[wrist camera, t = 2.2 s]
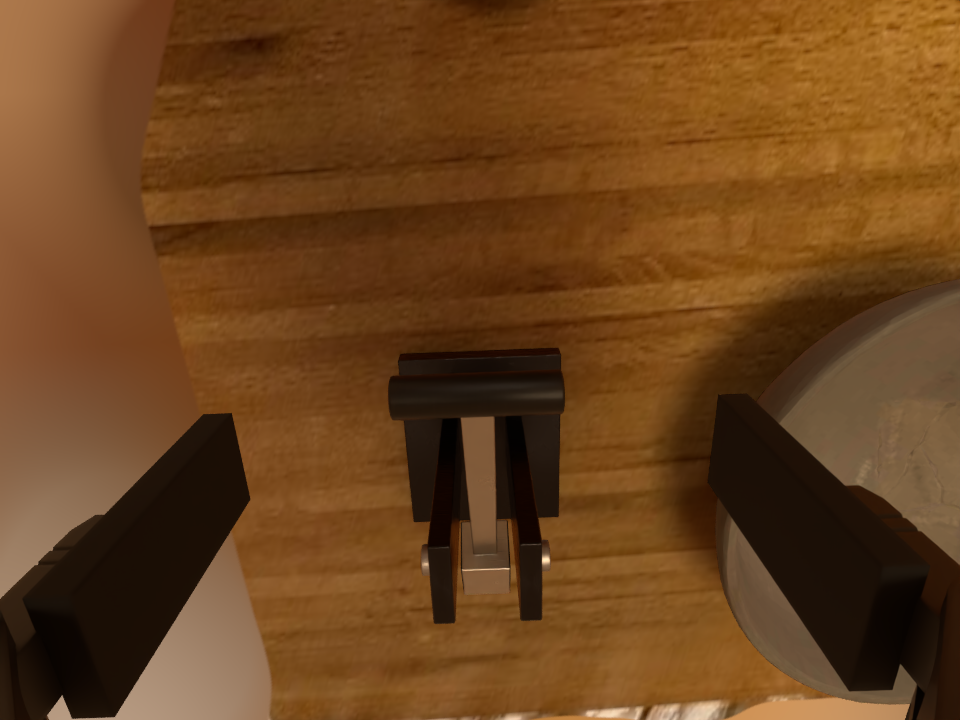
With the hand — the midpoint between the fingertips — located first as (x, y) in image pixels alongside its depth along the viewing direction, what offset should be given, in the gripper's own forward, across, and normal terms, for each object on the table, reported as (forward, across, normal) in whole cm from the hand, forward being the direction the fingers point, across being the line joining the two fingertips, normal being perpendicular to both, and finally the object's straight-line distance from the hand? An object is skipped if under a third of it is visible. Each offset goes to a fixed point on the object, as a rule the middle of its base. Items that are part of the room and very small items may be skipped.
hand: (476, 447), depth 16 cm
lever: (+7, 0, -5) cm, 9 cm away
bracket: (+20, 0, -11) cm, 23 cm away
